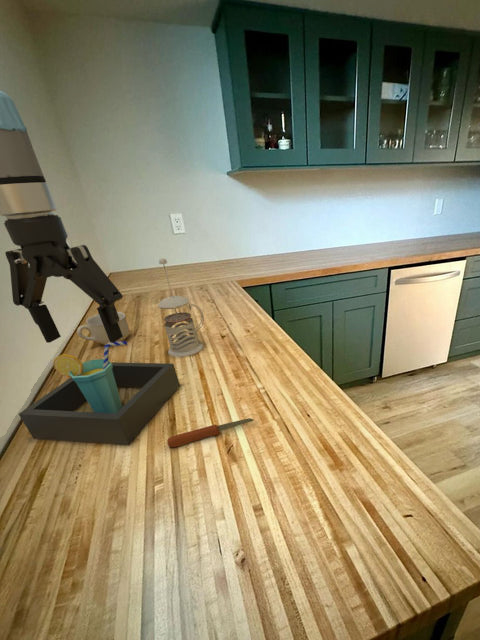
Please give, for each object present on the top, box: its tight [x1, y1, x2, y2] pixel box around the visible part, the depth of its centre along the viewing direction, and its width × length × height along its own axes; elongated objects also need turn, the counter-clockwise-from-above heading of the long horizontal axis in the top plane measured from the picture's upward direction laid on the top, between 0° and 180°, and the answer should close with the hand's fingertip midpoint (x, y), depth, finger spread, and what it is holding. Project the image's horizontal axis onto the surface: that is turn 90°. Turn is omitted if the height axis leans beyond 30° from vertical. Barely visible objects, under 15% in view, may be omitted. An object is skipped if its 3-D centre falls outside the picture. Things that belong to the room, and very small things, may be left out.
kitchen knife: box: [166, 418, 255, 448], centre depth 62 cm, size 16×1×2 cm, turn 110°
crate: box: [18, 361, 181, 446], centre depth 70 cm, size 21×20×6 cm
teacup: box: [76, 311, 130, 346], centre depth 102 cm, size 14×11×8 cm
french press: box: [157, 258, 205, 358], centre depth 90 cm, size 10×12×25 cm
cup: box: [53, 340, 128, 413], centre depth 68 cm, size 14×8×15 cm, turn 112°
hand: (84, 339), depth 63 cm, fingers open, 13 cm apart
